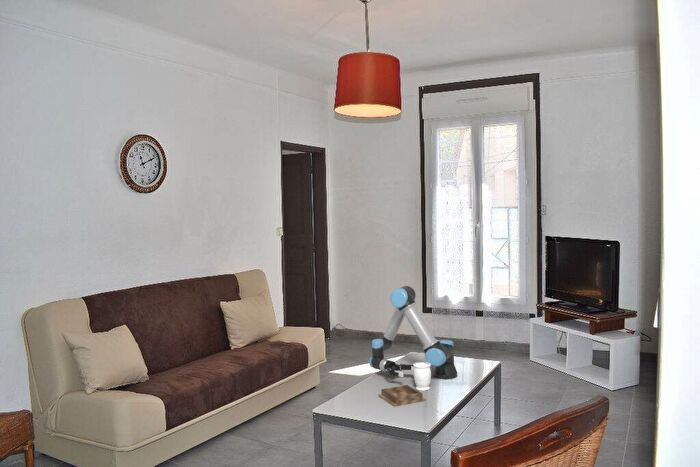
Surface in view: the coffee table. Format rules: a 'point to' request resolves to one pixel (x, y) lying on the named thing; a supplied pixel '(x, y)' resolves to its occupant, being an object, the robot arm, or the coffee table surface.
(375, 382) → the coffee table surface
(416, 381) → the jar
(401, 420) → the coffee table surface
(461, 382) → the coffee table surface
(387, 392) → the holder
